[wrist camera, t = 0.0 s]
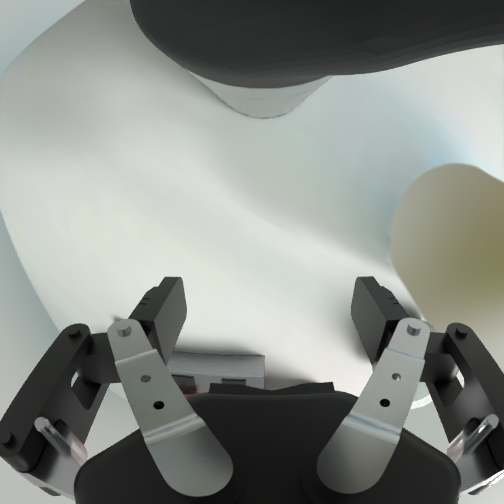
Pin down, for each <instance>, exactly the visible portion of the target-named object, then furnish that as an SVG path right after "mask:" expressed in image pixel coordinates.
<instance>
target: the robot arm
mask: <svg viewBox="0 0 504 504" xmlns="http://www.w3.org/2000/svg"><path fill="white" fill-rule="evenodd" d="M130 4H131V8H132V12H133V14H134V17H135V20H136V22H137V24H138V25H139V27H140V29H141V30H142V32H143V33H144V34H145V35H146V37H147V38H148V39H149V40H150V41H151V42H152V43H153V44H154V45H155V46H156V47H157V48H158V49H159V50H161V51H162V52H163V53H164V54H166V55H167V56H168V57H170V58H171V59H172V60H174V61H175V62H176V63H178V64H179V65H180V66H182V67H183V68H184V69H185V70H187V71H188V72H189V73H190V74H192V75H193V76H194V77H195V78H197V79H198V80H199V81H201V82H202V83H203V84H204V85H205V86H207V87H208V88H209V89H210V90H211V91H213V92H214V93H215V94H216V95H217V96H218V97H219V98H221V99H222V100H223V101H224V102H225V103H226V104H227V105H229V106H230V107H231V108H232V109H234V110H235V111H237V112H239V113H241V114H243V115H245V116H249V117H252V118H260V119H268V118H275V117H278V116H282V115H284V114H286V113H288V112H290V111H292V110H293V109H294V108H296V107H297V106H298V105H299V104H301V103H302V102H303V101H304V100H305V99H307V98H308V97H309V96H310V95H311V94H312V93H314V92H315V91H316V90H317V89H318V88H320V87H321V86H322V85H323V84H324V83H326V82H327V81H328V80H329V79H330V78H331V77H333V76H334V75H354V74H366V73H373V72H379V71H385V70H389V69H393V68H397V67H401V66H404V65H408V64H411V63H415V62H418V61H421V60H425V59H429V58H433V57H437V56H441V55H445V54H449V53H454V52H459V51H464V50H469V49H474V48H480V47H486V46H492V45H500V44H504V0H130ZM186 314H187V306H186V300H185V293H184V286H183V281H182V278H181V277H164V279H163V280H162V282H161V283H160V285H159V286H158V287H153V288H152V289H150V290H149V291H147V292H146V294H145V295H144V296H143V298H142V299H141V301H140V302H139V304H138V305H137V306H136V308H135V309H134V311H133V312H132V313H131V315H130V316H129V318H128V319H122V320H119V321H116V322H115V323H113V324H112V325H110V327H109V328H108V330H107V333H97V334H91V332H90V329H89V327H88V326H87V325H85V324H81V323H78V324H73V325H70V326H68V327H66V328H65V329H64V330H63V331H62V332H61V333H60V335H59V336H58V337H57V338H56V340H55V341H54V342H53V344H52V345H51V347H50V348H49V349H48V350H47V352H46V353H45V354H44V356H43V357H42V358H41V360H40V361H39V363H38V364H37V365H36V367H35V368H34V370H33V371H32V372H31V374H30V375H29V377H28V379H27V380H26V381H25V383H24V384H23V386H22V387H21V389H20V390H19V392H18V393H17V395H16V397H15V398H14V400H13V401H12V403H11V404H10V406H9V408H8V409H7V411H6V413H5V414H4V416H3V418H2V420H1V421H0V456H1V457H2V458H3V459H4V460H5V461H6V462H7V463H8V464H10V465H11V466H12V468H13V469H14V470H16V471H17V472H18V473H19V474H20V475H22V476H23V477H24V478H26V479H27V480H28V481H30V482H31V483H32V484H34V485H35V486H38V487H39V488H41V489H42V490H43V491H45V492H46V493H48V494H50V495H52V496H60V495H63V496H66V497H68V498H70V499H72V500H75V502H76V504H458V500H459V497H461V496H463V495H465V494H467V493H468V494H470V495H477V494H480V493H481V492H483V491H484V490H486V489H487V488H489V487H490V486H491V485H493V484H494V483H495V482H497V481H498V480H499V479H501V478H502V477H503V476H504V374H503V372H502V371H501V369H500V368H499V366H498V365H497V363H496V362H495V361H494V359H493V357H492V356H491V355H490V353H489V352H488V351H487V349H486V348H485V346H484V345H483V344H482V342H481V341H480V340H479V338H478V337H477V335H476V334H475V333H474V332H473V330H472V329H471V328H470V327H468V326H466V325H464V324H461V323H452V324H449V325H448V327H447V329H446V332H445V333H437V332H430V329H429V327H428V325H427V324H426V323H424V322H423V321H421V320H419V319H415V318H410V317H409V316H408V314H407V313H406V311H405V310H404V309H403V307H402V306H401V304H399V302H398V300H397V299H396V298H395V296H394V295H393V294H392V292H391V291H389V290H388V289H386V288H385V287H383V286H380V285H379V284H378V282H377V281H376V280H375V278H374V277H373V276H370V277H357V279H356V282H355V287H354V293H353V299H352V305H351V316H352V320H353V322H354V324H355V327H356V329H357V331H358V333H359V336H360V338H361V340H362V343H363V345H364V348H365V350H366V352H367V355H368V357H369V360H370V362H371V364H372V366H376V368H375V370H374V371H373V373H372V375H371V377H370V379H369V381H368V383H367V384H366V386H365V388H364V390H363V391H362V393H361V395H360V397H357V396H354V395H352V394H349V393H346V392H341V391H335V390H334V385H333V382H325V383H310V384H301V385H297V386H292V387H288V388H283V389H279V390H272V391H271V390H265V389H260V388H255V387H250V386H246V385H241V384H222V383H210V388H209V391H208V392H202V393H198V394H194V395H191V396H189V397H186V398H185V397H184V395H183V393H182V392H181V390H180V389H179V387H178V385H177V384H176V382H175V381H174V379H173V377H172V376H171V374H170V372H169V371H168V369H167V367H166V366H167V364H168V361H169V359H170V356H171V354H172V351H173V349H174V346H175V344H176V341H177V339H178V336H179V334H180V331H181V329H182V326H183V324H184V322H185V319H186ZM459 370H460V372H461V374H462V375H463V377H464V388H462V386H461V384H460V382H459V380H458V379H457V377H456V375H457V373H458V371H459ZM76 371H77V373H78V377H77V379H76V381H75V383H74V384H73V386H72V387H71V381H72V378H73V376H74V374H75V372H76ZM419 382H425V384H426V386H427V388H428V391H429V393H430V395H431V398H432V400H433V402H434V405H435V407H436V410H437V412H438V414H439V417H440V419H441V422H442V425H443V427H444V430H445V433H446V435H447V438H448V441H449V446H448V449H447V455H446V454H444V453H442V452H441V451H439V450H437V449H436V448H434V447H433V446H431V445H429V444H428V443H426V442H425V441H423V440H422V439H420V438H418V437H417V436H415V435H414V434H412V433H411V432H409V431H408V430H406V429H405V428H403V425H404V423H405V420H406V417H407V415H408V412H409V410H410V407H411V404H412V401H413V399H414V396H415V393H416V390H417V387H418V384H419ZM110 383H122V386H123V388H124V391H125V394H126V396H127V399H128V402H129V404H130V407H131V409H132V411H133V414H134V416H135V419H136V420H137V423H138V425H139V429H138V430H136V431H134V432H133V433H131V434H130V435H128V436H127V437H125V438H124V439H122V440H120V441H119V442H117V443H116V444H114V445H112V446H111V447H109V448H107V449H106V450H104V451H102V452H101V453H99V454H97V455H95V456H94V457H92V458H90V459H89V460H87V451H86V448H85V446H84V443H85V441H86V438H87V436H88V433H89V431H90V428H91V426H92V423H93V421H94V419H95V416H96V414H97V411H98V409H99V407H100V405H101V402H102V400H103V398H104V396H105V393H106V391H107V389H108V387H109V385H110Z"/></svg>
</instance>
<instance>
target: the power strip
mask: <svg viewBox="0 0 504 504" xmlns="http://www.w3.org/2000/svg"><path fill="white" fill-rule="evenodd" d="M166 367H167V369H168V371H169V372H170V374H171V376H172V377H173V379H174V381H175V382H176V384H177V385H178V387H179V389H180V390H181V392H182V393H183V394H190V395H194V394H198V393H202V392H208V391H209V388H210V383H222V384H241V385H246V386H250V387H255V388H260V389H264V356H235V355H212V354H195V353H182V352H172V354H171V356H170V359H169V361H168V364H167V366H166Z"/></svg>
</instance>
